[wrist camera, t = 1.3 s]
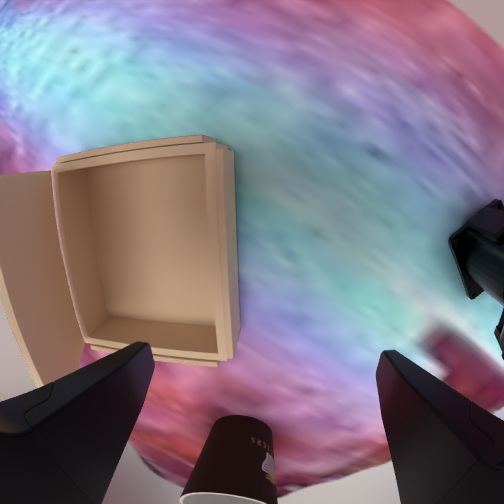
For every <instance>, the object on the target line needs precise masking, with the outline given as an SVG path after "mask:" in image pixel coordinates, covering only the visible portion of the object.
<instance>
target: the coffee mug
mask: <svg viewBox="0 0 504 504" xmlns="http://www.w3.org/2000/svg"><path fill="white" fill-rule="evenodd" d="M179 502H180V504H278V501H277V489H276V477H275V465H274V454H273V442H272V432H271V430H270V428H269V427H268V426H267V425H266V424H265V423H263V422H262V421H260V420H258V419H255V418H252V417H248V416H241V415H233V416H226V417H223V418H221V419H219V420H217V421H216V422H215V423H214V425H213V427H212V429H211V431H210V434H209V436H208V438H207V440H206V443H205V445H204V447H203V449H202V451H201V454H200V456H199V458H198V460H197V462H196V465H195V467H194V469H193V471H192V473H191V475H190V478H189V480H188V482H187V484H186V486H185V488H184V490H183V492H182V495H181V497H180V500H179Z"/></svg>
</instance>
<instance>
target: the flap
mask: <svg viewBox="0 0 504 504" xmlns="http://www.w3.org/2000/svg"><path fill="white" fill-rule="evenodd" d="M0 297H1V301H2V304H3V307H4V310H5V313H6V316H7V319H8V322H9V324H10V327H11V330H12V332H13V335H14V338H15V340H16V343H17V345H18V347H19V350H20V352H21V355H22V357H23V359H24V361H25V364H26V366H27V368H28V370H29V372H30V374H31V376H32V378H33V380H34V382H35V384H36V386H37V388H39V387H42V386H44V385H46V384H48V383H50V382H54V381H55V380H57V379H59V378H61V377H63V376H66V375H68V374H70V373H72V372H74V371H76V370H78V369H79V365H80V360H81V356H82V352H83V348H84V341H83V337H82V334H81V331H80V328H79V325H78V321H77V318H76V314H75V311H74V307H73V304H72V300H71V296H70V292H69V288H68V284H67V279H66V275H65V270H64V265H63V260H62V255H61V250H60V244H59V238H58V232H57V225H56V218H55V210H54V201H53V191H52V179H51V171H39V172H26V173H15V174H5V175H0Z"/></svg>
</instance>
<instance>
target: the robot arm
mask: <svg viewBox="0 0 504 504" xmlns="http://www.w3.org/2000/svg"><path fill="white" fill-rule="evenodd" d="M497 205H498V208H497ZM455 239H456V243H455V244H454V240H455ZM449 245H450V248H451V250H452V253H453V255H454V258H455V261H456V264H457V266H458V269H459V272H460V275H461V278H462V281H463V284H464V287H465V290H466V293H467V296H468V297H469V298H470V299H471V300H472V299H475V298H476V297H477V296H478V295H479V294H481V293H482V292H483V291H484V290H485V291H486V292H487V293H488V294H490V295H491V296H492V297H493V298H495V299H496V300H497V301H498V302H499V303H501V304H502V305H503V306H504V206H503V203H502V201H501V200H498V199H496V200H494V201H493V202H492V203H491V204H490V205H488V206H485V207H484V208H483V209H482V210H481V211H479V212H478V213H477V214H476V215H475V216H473V217H472V218H471V219H470V220H468V221H467V223H466V225H464V226H463V227H462V228H461V229H459V230H458V231H457V232H456V233H454V234H453V235H452V236H451V237H450V239H449ZM472 293H473V294H472ZM471 294H472V295H471ZM494 334H495V336H496V338H497V341H498V343H499V345H500V348H501V350H502V358H503V360H504V308H503V311H502V315H501V318H500V321H499V323H498V325H497V326H496V329H495V331H494ZM154 368H155V363H154V358H153V354H152V350H151V346H150V344H149V343H148V342H142V341H136V342H134V343H132V344H130V345H128V346H126V347H124V348H122V349H120V350H118V351H116V352H114V353H112V354H110V355H108V356H106V357H103V358H101V359H99V360H97V361H95V362H93V363H91V364H89V365H87V366H85V367H83V368H80V369H78V370H76V371H74V372H72V373H70V374H68V375H66V376H63V377H61V378H59V379H57V380H55V381H54V382H50V383H48V384H46V385H44V386H42V387H39V388H37V389H35V390H33V391H30V392H27V393H24V394H22V395H19V396H16V397H13V398H10V399H7V400H5V401H1V402H0V504H102V502H103V499H104V497H105V494H106V492H107V489H108V487H109V484H110V482H111V479H112V477H113V474H114V472H115V469H116V467H117V464H118V463H119V460H120V458H121V455H122V453H123V451H124V448H125V446H126V443H127V441H128V439H129V437H130V434H131V432H132V430H133V427H134V425H135V423H136V421H137V418H138V416H139V414H140V411H141V409H142V407H143V404H144V401H145V397H146V394H147V391H148V388H149V384H150V381H151V378H152V375H153V372H154ZM376 382H377V388H378V395H379V402H380V409H381V416H382V421H383V425H384V429H385V433H386V437H387V441H388V445H389V449H390V453H391V458H392V462H393V467H394V471H395V476H396V480H397V486H398V491H399V496H400V501H401V504H504V421H503V420H501V419H500V418H498V417H496V416H494V415H493V414H491V413H489V412H488V411H486V410H485V409H483V408H481V407H480V406H478V405H477V404H475V403H474V402H472V401H471V402H470V400H469V399H468V398H466V397H465V396H463V395H462V394H460V393H459V392H457V391H456V390H454V389H453V388H451V387H450V386H448V385H447V384H445V383H444V382H442V381H441V380H439V379H438V378H436V377H435V376H433V375H432V374H430V373H429V372H427V371H426V370H424V369H423V368H421V367H420V366H418V365H417V364H415V363H414V362H412V361H411V360H409V359H408V358H406V357H405V356H403V355H402V354H400V353H399V352H397V351H396V350H384V351H383V352H382V353H381V355H380V359H379V363H378V367H377V370H376Z"/></svg>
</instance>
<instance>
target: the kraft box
mask: <svg viewBox="0 0 504 504" xmlns="http://www.w3.org/2000/svg"><path fill="white" fill-rule="evenodd" d="M56 163H61V164H56V165H52V178H53V191H54V201H55V210H56V218H57V225H58V232H59V238H60V244H61V250H62V255H63V260H64V265H65V270H66V275H67V279H68V284H69V288H70V292H71V296H72V300H73V304H74V307H75V311H76V314H77V318H78V321H79V325H80V328H81V331H82V334H83V338H84V341H85V342H86V343H91V345H90V346H91V349H92V350H97V351H102V352H107V353H114V352H116V351H118V350H120V349H122V348H124V347H126V346H128V345H130V344H132V343H134V342H136V341H142V342H148V343H149V344H150V346H151V350H152V354H153V358H154V360H156V361H164V362H172V363H180V364H189V365H199V366H211V367H218V364H219V361H228V358H230V359H233V358H234V354H235V350H236V346H237V342H238V338H239V334H240V330H241V327H240V305H239V282H238V257H237V231H236V201H235V168H234V151H231V150H228V146H227V145H224V144H220V143H217V139H214V138H210V137H207V136H204V135H193V136H183V137H173V138H164V139H156V140H149V141H141V142H135V143H128V144H122V145H116V146H110V147H105V148H99V149H94V150H89V151H84V152H79V153H75V154H70V155H66V156H62V157H57V158H56Z"/></svg>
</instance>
